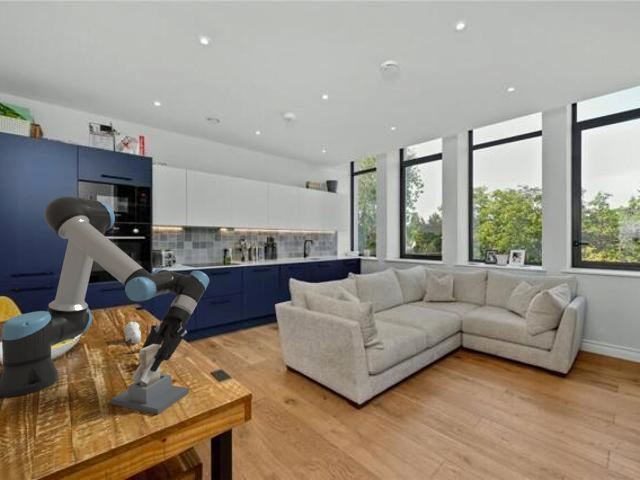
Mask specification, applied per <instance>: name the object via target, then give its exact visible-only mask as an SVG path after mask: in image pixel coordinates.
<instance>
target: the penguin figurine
mask: <svg viewBox="0 0 640 480" xmlns="http://www.w3.org/2000/svg"><path fill="white" fill-rule="evenodd" d="M123 330H124V334H125V341H124V342H128V341H129V342H131V344H135V345H137V344H139V343H140V342H141V340H142V332H141V329H140V324H139V323H138V322H136V321H129V322H128V323H127V324H125V327H124V328H123ZM130 340H131V341H130Z"/></svg>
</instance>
